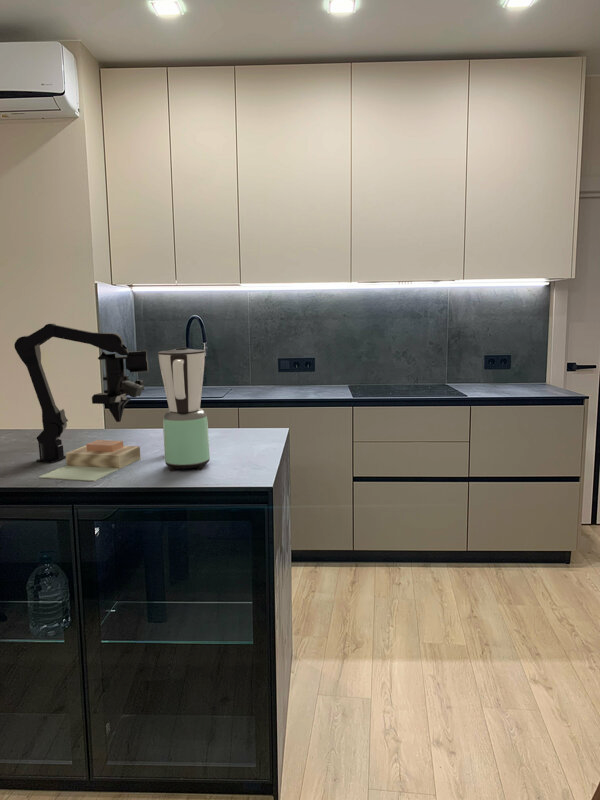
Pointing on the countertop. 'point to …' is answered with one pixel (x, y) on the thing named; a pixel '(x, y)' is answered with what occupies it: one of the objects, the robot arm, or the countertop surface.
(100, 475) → the mat
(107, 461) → the tan wooden flat block
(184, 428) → the mint green blender
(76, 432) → the countertop surface
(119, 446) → the tile
